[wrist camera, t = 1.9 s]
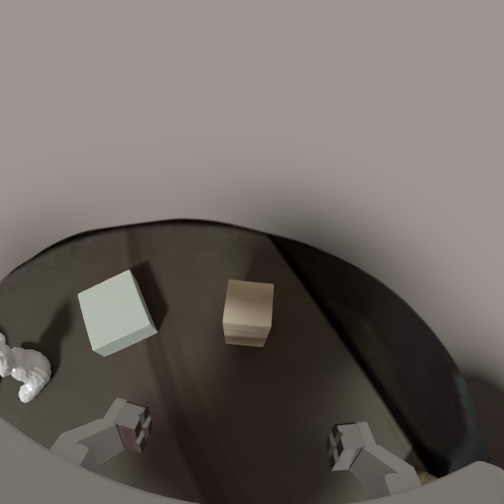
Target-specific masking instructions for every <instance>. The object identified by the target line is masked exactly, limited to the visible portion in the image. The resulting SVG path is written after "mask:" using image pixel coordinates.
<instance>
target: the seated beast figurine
mask: <svg viewBox="0 0 504 504" xmlns="http://www.w3.org/2000/svg"><path fill="white" fill-rule="evenodd" d="M50 368H51V365H50V363H49V361H48V360H47V358H46V356H43V355H42V353H40V352H37V351H35V350H30V349H28V350H25V349H23V348H20V347H19V348H18V347H14V348H13V349H10V347H9V346H8V345H6V339H5V337H4V335H3V334H1V333H0V375H1V376H2V377H6V376H10V374H11V375H12V377H15V379H17V380H19V381H23V382H24V383H25V384H24V385H23V386H21V387H20V392H19V397H20V400H21V401H22V402H24V403H27V402H30V401H31V400H34V398H35V396H37V394H38V393H40V391H41V389H43V388H44V386H45V385H46V384H47V383H48V381H49V380H50V376H51V369H50Z"/></svg>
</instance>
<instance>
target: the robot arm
mask: <svg viewBox="0 0 504 504" xmlns="http://www.w3.org/2000/svg"><path fill="white" fill-rule="evenodd" d="M149 413H150V410H149V407H147V406H144V405H140V404H137V403H134V402H130V401H127V400H124V399H120V398H117V399H116V400H115V401H114V403H113V404H112V406H111V407H110V409H109V410H108V412H107V413H106V415H105V416H104V418H103V419H98V420H95V421H93V422H90V423H88V424H86V425H83V426H80V427H78V428H75V429H73V430H70V431H67V432H65V433H62V434H61V435H60V437H59V438H58V439H57V441H56V442H55V443H54V445H53V446H52V448H51V449H50V450H49V449H47V448H45V447H44V446H42V445H40V444H39V443H37V442H35V441H34V440H32V439H31V438H29V437H28V436H26V435H25V434H23V433H22V432H20V431H19V430H17V429H16V428H15V427H13V426H12V425H11V424H9V423H8V422H7V421H5V420H4V419H2V418H1V417H0V504H199V503H194V502H188V501H183V500H178V499H174V498H170V497H165V496H161V495H158V494H154V493H150V492H147V491H143V490H140V489H137V488H134V487H131V486H128V485H125V484H122V483H119V482H117V481H114V480H111V479H109V478H106V477H104V475H103V473H102V471H101V470H100V468H99V465H100V464H102V463H103V462H105V461H107V460H108V459H110V458H112V457H113V456H115V455H116V454H118V453H119V452H121V451H123V450H124V449H125V448H126V449H129V450H133V451H136V452H140V453H142V452H143V449H144V447H145V445H146V440H145V438H147V437H149V435H150V433H151V429H152V419H151V418H150V417H149ZM326 447H327V453H328V454H329V455H330V456H331V458H330V459H329V463H330V467H331V471H337V470H348V469H349V471H350V472H351V473H352V474H353V475H354V476H355V477H356V478H357V479H358V480H359V481H360V482H361V483H363V484H364V485H365V486H366V487H367V488H368V489H369V490H370V491H371V493H370V494H369V495H368V496H367V497H366V498H365V499H364V500H363V501H361V502H356V503H350V504H504V471H503V470H502V469H501V468H499V467H496V466H494V465H491V464H488V463H485V462H482V461H477V462H474V463H472V464H470V465H468V466H466V467H464V468H462V469H460V470H457V471H455V472H453V473H451V474H448V475H446V476H444V477H441V478H439V479H436V480H434V481H431V482H429V483H426V484H423V485H421V482H420V480H419V478H418V476H417V474H416V471H415V469H414V467H413V466H411V465H409V464H408V463H406V462H405V461H403V460H401V459H400V458H398V457H397V456H395V455H394V454H392V453H390V452H389V451H387V450H386V449H384V448H383V447H381V446H380V445H376V443H375V440H374V438H373V435H372V433H371V431H370V428H369V426H368V423H367V422H366V421H365V422H356V423H344V424H335V425H334V426H333V427H332V434H330V435H329V436H328V439H327V444H326Z"/></svg>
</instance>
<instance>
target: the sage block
mask: <svg viewBox="0 0 504 504" xmlns="http://www.w3.org/2000/svg"><path fill="white" fill-rule="evenodd" d="M78 297H79V301H80V306H81V310H82V314H83V318H84V321H85V325H86V329H87V332H88V336H89V339H90V342H91V346H92V349H93V351H95V352H97V353H99V354H100V355H102V356H104V357H105V356H107V355H110V354H112V353H114V352H116V351H119V350H121V349H123V348H125V347H128V346H130V345H132V344H134V343H136V342H139V341H141V340H143V339H145V338H147V337H149V336H152V335H154V334H156V333H158V332H157V329H156V327H155V325H154V323H153V320H152V318H151V316H150V313H149V311H148V308H147V306H146V303H145V301H144V298H143V296H142V293H141V291H140V288H139V285H138V283H137V281H136V279H135V278H134V276H133V274H132V273H131V271H130V270H127V271H125V272H123V273H121V274H119V275H116V276H114V277H112V278H110V279H108V280H106V281H104V282H102V283H100V284H98V285H96V286H94V287H92V288H89V289H87V290H85V291H83V292H81V293H79V294H78Z"/></svg>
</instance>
